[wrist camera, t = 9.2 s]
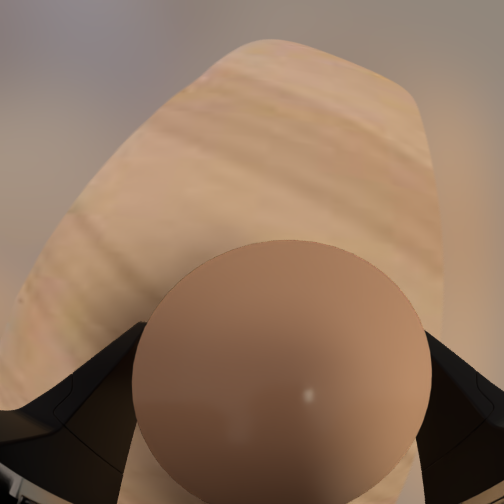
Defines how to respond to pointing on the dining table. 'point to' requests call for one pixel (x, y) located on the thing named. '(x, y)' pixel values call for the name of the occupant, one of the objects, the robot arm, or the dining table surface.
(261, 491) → the tan tapered cylinder
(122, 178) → the dining table surface
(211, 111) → the dining table surface
